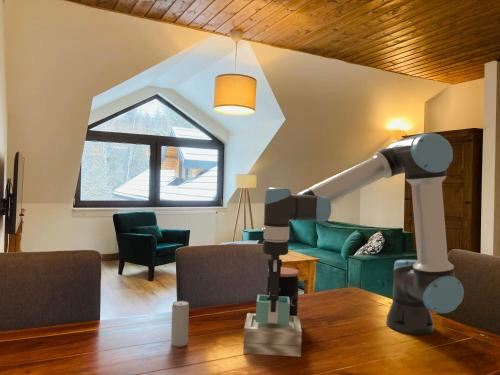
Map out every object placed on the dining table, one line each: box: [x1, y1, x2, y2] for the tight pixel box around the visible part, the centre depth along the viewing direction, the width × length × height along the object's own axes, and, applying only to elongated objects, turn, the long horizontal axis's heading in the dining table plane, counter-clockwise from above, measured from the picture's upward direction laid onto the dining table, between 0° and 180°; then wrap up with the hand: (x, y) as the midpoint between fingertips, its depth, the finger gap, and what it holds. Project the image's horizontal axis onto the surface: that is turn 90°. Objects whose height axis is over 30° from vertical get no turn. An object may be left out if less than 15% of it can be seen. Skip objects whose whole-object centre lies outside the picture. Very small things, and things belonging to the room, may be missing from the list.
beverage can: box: [170, 300, 190, 348], centre depth 119 cm, size 5×5×12 cm
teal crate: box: [255, 294, 290, 325], centre depth 120 cm, size 10×7×6 cm
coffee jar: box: [266, 266, 300, 316], centre depth 140 cm, size 11×11×18 cm
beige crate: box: [242, 312, 303, 358], centre depth 120 cm, size 16×13×7 cm
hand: (272, 317), depth 120 cm, fingers closed on teal crate, 7 cm apart
